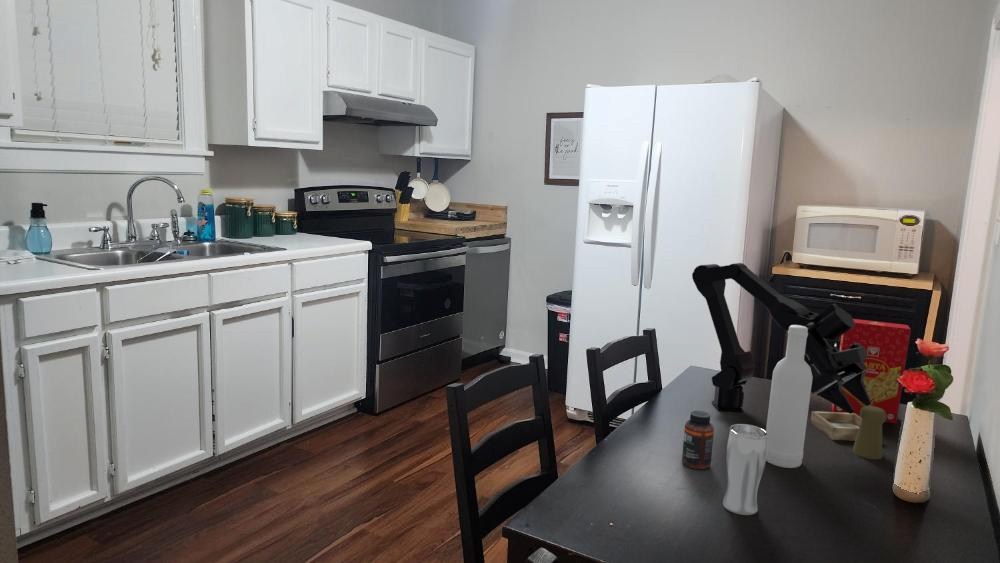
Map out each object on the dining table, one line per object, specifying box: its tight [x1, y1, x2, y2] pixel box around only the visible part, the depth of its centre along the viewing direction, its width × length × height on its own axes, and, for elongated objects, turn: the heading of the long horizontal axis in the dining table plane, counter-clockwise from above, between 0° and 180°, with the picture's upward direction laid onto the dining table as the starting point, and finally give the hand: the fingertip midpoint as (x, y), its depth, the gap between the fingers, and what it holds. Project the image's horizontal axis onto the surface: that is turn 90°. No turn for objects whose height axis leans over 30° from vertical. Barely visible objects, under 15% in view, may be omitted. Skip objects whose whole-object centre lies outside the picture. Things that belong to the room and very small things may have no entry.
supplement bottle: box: [681, 410, 715, 470], centre depth 142 cm, size 6×6×11 cm
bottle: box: [765, 325, 813, 469], centre depth 144 cm, size 8×8×30 cm
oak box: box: [810, 410, 862, 442], centre depth 165 cm, size 11×11×3 cm
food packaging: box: [831, 318, 912, 424], centre depth 176 cm, size 15×5×25 cm, turn 67°
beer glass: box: [722, 423, 768, 516], centre depth 124 cm, size 7×7×15 cm
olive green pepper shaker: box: [852, 406, 886, 460], centre depth 152 cm, size 6×6×11 cm
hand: (860, 408), depth 153 cm, fingers open, 9 cm apart
